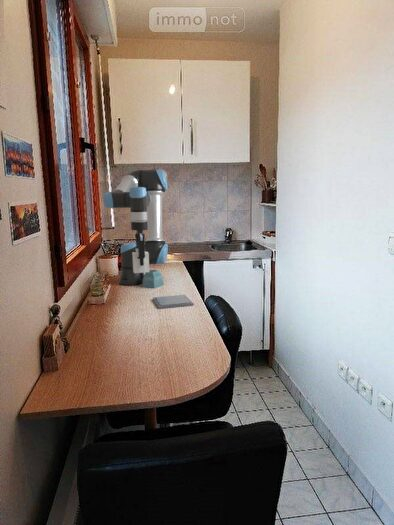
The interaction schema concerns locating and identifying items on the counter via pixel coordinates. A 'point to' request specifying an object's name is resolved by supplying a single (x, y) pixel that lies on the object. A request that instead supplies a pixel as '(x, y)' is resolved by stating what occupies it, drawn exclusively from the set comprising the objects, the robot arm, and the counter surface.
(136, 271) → the plug
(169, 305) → the plate
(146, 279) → the teal faceted dome
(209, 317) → the counter surface
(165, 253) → the robot arm
